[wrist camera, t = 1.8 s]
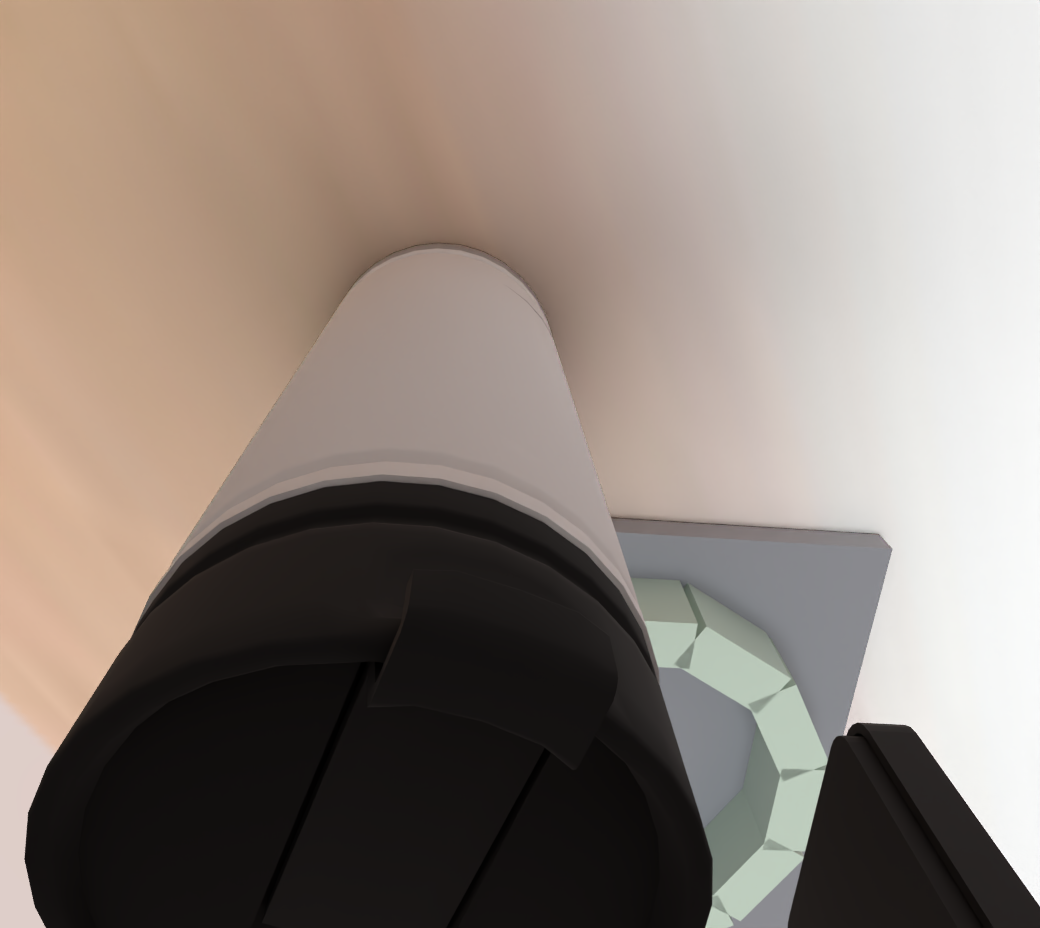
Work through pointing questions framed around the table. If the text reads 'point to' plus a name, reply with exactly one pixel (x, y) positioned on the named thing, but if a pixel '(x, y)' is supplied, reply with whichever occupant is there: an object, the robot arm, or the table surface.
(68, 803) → the travel mug
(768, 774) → the cup dock
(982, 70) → the table surface
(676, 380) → the table surface
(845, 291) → the table surface
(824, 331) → the table surface
